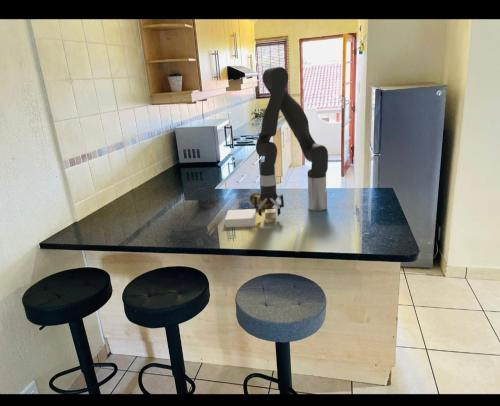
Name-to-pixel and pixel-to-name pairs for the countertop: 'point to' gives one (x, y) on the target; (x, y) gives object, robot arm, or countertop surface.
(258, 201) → the potato
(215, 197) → the countertop surface
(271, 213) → the birch block
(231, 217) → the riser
